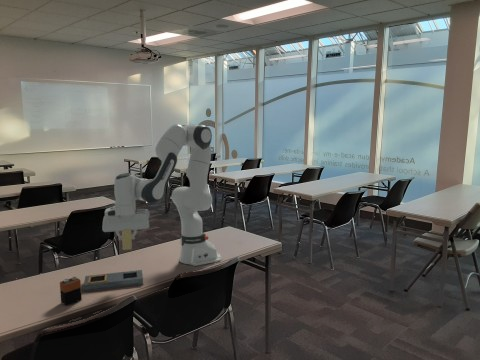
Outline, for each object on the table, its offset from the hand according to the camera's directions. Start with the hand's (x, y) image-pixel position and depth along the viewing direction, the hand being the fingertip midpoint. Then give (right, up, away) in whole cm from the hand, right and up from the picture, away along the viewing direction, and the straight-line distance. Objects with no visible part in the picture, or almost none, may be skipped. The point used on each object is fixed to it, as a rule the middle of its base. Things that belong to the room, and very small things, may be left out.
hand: (126, 239), depth 169 cm
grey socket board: (-6, -20, +1) cm, 21 cm away
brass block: (0, -4, +1) cm, 4 cm away
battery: (-18, -23, -16) cm, 33 cm away
